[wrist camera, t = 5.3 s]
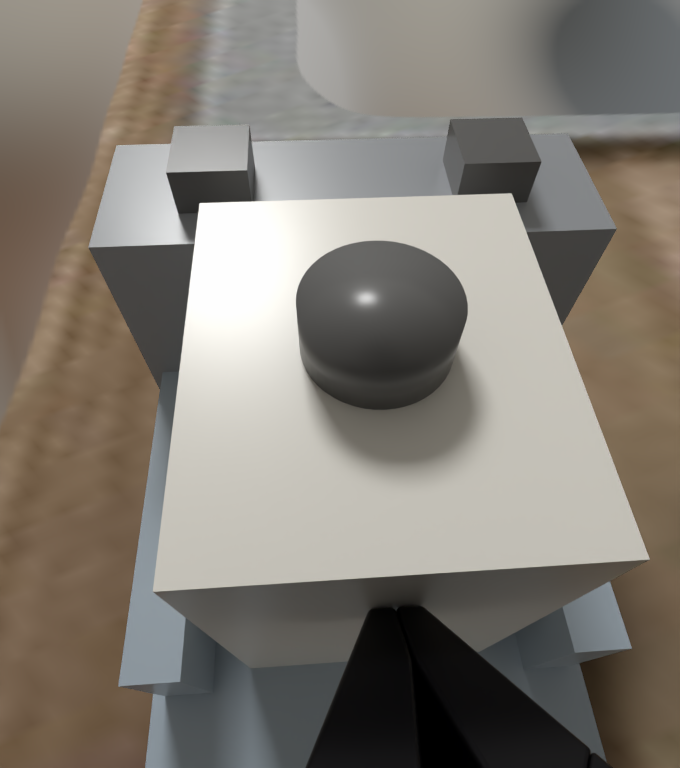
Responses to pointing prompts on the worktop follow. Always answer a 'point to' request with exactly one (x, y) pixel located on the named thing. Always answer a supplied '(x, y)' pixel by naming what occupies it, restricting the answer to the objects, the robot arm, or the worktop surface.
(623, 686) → the worktop surface
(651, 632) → the worktop surface
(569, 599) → the block
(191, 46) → the worktop surface
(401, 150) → the motor clip
